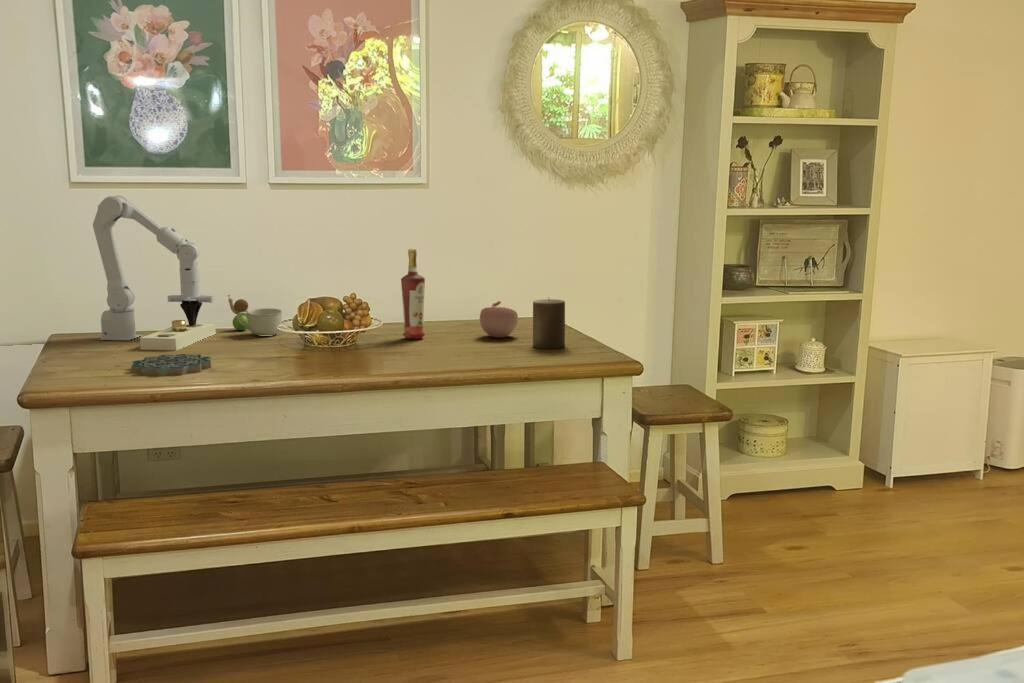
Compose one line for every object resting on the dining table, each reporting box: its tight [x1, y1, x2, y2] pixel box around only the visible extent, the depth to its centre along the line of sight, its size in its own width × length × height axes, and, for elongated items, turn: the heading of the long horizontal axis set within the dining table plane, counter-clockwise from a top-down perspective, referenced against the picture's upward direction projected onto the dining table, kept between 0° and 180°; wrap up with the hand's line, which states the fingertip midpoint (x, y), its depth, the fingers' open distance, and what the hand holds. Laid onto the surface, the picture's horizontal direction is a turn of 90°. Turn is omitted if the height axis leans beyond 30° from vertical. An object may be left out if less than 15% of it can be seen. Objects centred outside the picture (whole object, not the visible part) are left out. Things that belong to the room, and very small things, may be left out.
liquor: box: [400, 248, 426, 341], centre depth 298 cm, size 7×7×28 cm
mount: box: [139, 323, 217, 351], centre depth 295 cm, size 11×27×4 cm, turn 173°
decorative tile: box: [131, 353, 212, 377], centre depth 257 cm, size 20×20×2 cm
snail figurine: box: [227, 294, 249, 331], centre depth 314 cm, size 5×6×12 cm
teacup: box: [237, 307, 283, 336], centre depth 306 cm, size 14×11×8 cm
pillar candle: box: [532, 298, 566, 350], centre depth 287 cm, size 10×10×15 cm
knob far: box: [186, 323, 200, 327], centre depth 303 cm, size 4×4×3 cm
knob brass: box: [171, 319, 187, 332], centre depth 294 cm, size 4×4×3 cm
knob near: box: [158, 334, 172, 337], centre depth 286 cm, size 4×4×3 cm
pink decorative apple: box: [479, 300, 519, 339], centre depth 302 cm, size 12×12×11 cm
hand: (192, 324), depth 303 cm, fingers closed, pressing on knob far
